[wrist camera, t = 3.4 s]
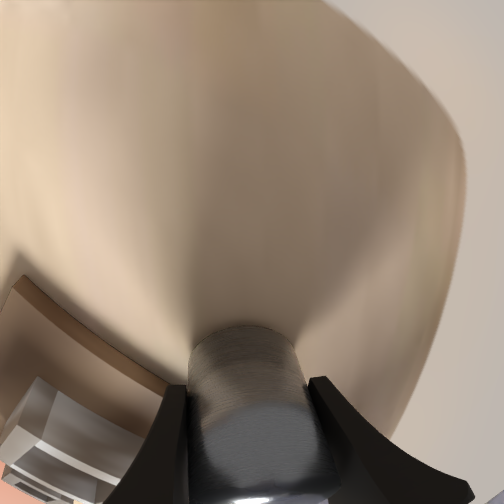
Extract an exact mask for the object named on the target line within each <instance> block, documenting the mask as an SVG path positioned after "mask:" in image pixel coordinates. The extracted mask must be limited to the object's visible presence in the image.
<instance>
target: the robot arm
mask: <svg viewBox="0 0 504 504" xmlns="http://www.w3.org/2000/svg"><path fill="white" fill-rule="evenodd" d="M308 390H309V392H310V395H311V398H312V401H313V404H314V406H315V409H316V412H317V415H318V417H319V420H320V423H321V426H322V429H323V431H324V434H325V437H326V440H327V442H328V445H329V448H330V451H331V454H332V456H333V459H334V462H335V465H336V468H337V471H338V473H339V476H340V479H341V482H342V485H341V487H340V489H339V490H338V491H337V492H336V493H335V494H333V495H332V496H331V497H329V498H328V499H326V500H324V501H322V502H320V503H318V504H468V503H470V502H471V501H473V500H474V499H475V495H474V493H473V491H472V490H471V488H470V486H469V484H468V483H467V481H465V480H462V479H459V478H456V477H453V476H450V475H448V474H445V473H443V472H441V471H438V470H436V469H434V468H432V467H430V466H428V465H426V464H424V463H422V462H421V461H419V460H417V459H416V458H414V457H412V456H410V455H409V454H407V453H406V452H404V451H403V450H401V449H400V448H399V447H397V446H396V445H394V444H393V443H392V442H391V441H389V440H388V439H387V438H386V437H384V436H383V435H382V434H381V433H380V432H379V431H377V430H376V429H375V428H374V427H373V426H372V425H371V424H370V423H369V422H368V421H367V420H366V419H365V418H364V417H363V416H362V415H361V414H360V413H359V412H358V411H357V410H356V409H355V408H354V407H353V406H352V405H351V404H350V403H349V402H348V401H347V400H346V399H345V397H344V396H343V395H342V394H341V393H340V392H339V391H338V389H337V388H336V387H335V386H334V385H333V384H332V382H331V381H330V380H329V379H328V378H327V377H326V376H321V377H313V378H310V380H309V384H308ZM187 404H188V396H187V390H186V385H168V386H167V387H166V389H165V393H164V396H163V399H162V402H161V405H160V407H159V410H158V412H157V415H156V417H155V419H154V422H153V424H152V426H151V428H150V430H149V433H148V435H147V437H146V439H145V440H144V442H143V444H142V446H141V448H140V450H139V452H138V454H137V455H136V457H135V459H134V460H133V462H132V464H131V465H130V467H129V468H128V470H127V471H126V473H125V475H124V476H123V477H122V479H121V480H120V482H119V483H118V484H117V486H116V487H115V488H114V490H113V491H112V492H111V494H110V495H109V496H108V497H107V498H106V500H105V501H104V502H103V503H102V504H189V490H188V454H187ZM485 504H504V490H503V491H502V492H500V493H499V494H497V495H496V496H495V497H493V498H492V499H491V500H490V501H488V502H487V503H485Z"/></svg>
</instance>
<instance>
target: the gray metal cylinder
mask: <svg viewBox="0 0 504 504" xmlns="http://www.w3.org/2000/svg"><path fill="white" fill-rule="evenodd" d="M187 454H188V490H189V504H318V503H320V502H322V501H324V500H326V499H328V498H329V497H331V496H332V495H333V494H335V493H336V492H337V491H338V490H339V489H340V487H341V485H342V482H341V479H340V476H339V473H338V471H337V468H336V465H335V462H334V459H333V456H332V454H331V451H330V448H329V445H328V442H327V440H326V437H325V434H324V431H323V429H322V426H321V423H320V420H319V417H318V415H317V412H316V409H315V406H314V404H313V401H312V398H311V395H310V392H309V390H308V387H307V384H306V381H305V379H304V376H303V373H302V370H301V368H300V365H299V362H298V359H297V357H296V354H295V351H294V349H293V347H292V345H291V343H290V342H289V341H288V340H287V339H286V338H285V337H284V336H282V335H281V334H279V333H277V332H275V331H273V330H270V329H267V328H263V327H257V326H238V327H232V328H227V329H224V330H221V331H218V332H216V333H214V334H212V335H210V336H208V337H207V338H205V339H204V340H202V341H201V342H200V343H199V344H198V345H197V346H196V347H195V349H194V350H193V352H192V353H191V356H190V358H189V363H188V404H187Z"/></svg>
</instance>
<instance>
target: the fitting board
mask: <svg viewBox="0 0 504 504" xmlns="http://www.w3.org/2000/svg"><path fill="white" fill-rule="evenodd" d="M168 385H171V384H169V383H167V382H165V381H164V380H162V379H161V378H159V377H157V376H156V375H154V374H152V373H151V372H149V371H148V370H146V369H144V368H143V367H141V366H140V365H138V364H137V363H135V362H134V361H132V360H131V359H129V358H128V357H126V356H125V355H123V354H122V353H120V352H119V351H117V350H116V349H114V348H113V347H112V346H110V345H109V344H107V343H106V342H105V341H103V340H102V339H100V338H99V337H98V336H96V335H95V334H94V333H92V332H91V331H90V330H88V329H87V328H86V327H85V326H83V325H82V324H81V323H79V322H78V321H77V320H76V319H74V318H73V317H72V316H71V315H69V314H68V313H67V312H66V311H64V310H63V309H62V308H61V307H60V306H58V305H57V304H56V303H55V302H54V301H53V300H51V299H50V298H49V297H48V296H47V295H46V294H45V293H43V292H42V291H41V290H40V289H39V288H38V287H37V286H36V285H35V284H33V283H32V282H31V281H30V280H29V279H28V278H27V277H26V276H25V275H23V276H22V277H21V278H20V279H19V280H18V281H17V282H16V284H15V285H14V286H13V287H12V289H11V291H10V293H9V295H8V297H7V299H6V302H5V304H4V306H3V308H2V311H1V313H0V461H2V462H4V463H5V464H6V465H5V468H4V472H3V475H2V480H3V481H4V482H6V483H8V484H10V485H11V486H13V487H15V488H17V489H18V490H20V491H22V492H24V493H26V494H28V495H30V496H32V497H33V498H35V499H38V500H39V501H42V502H44V503H46V504H73V501H74V500H76V501H79V502H81V503H83V504H102V503H103V502H104V501H105V500H106V498H107V497H108V496H109V495H110V494H111V492H112V491H113V490H114V488H115V487H116V486H117V484H118V483H119V482H120V480H121V479H122V477H123V476H124V475H125V473H126V471H127V470H128V468H129V467H130V465H131V464H132V462H133V460H134V459H135V457H136V455H137V454H138V452H139V450H140V448H141V446H142V444H143V442H144V440H145V439H146V437H147V435H148V433H149V430H150V428H151V426H152V424H153V422H154V419H155V417H156V415H157V412H158V410H159V407H160V405H161V402H162V399H163V396H164V393H165V389H166V387H167V386H168ZM187 396H188V394H187Z"/></svg>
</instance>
